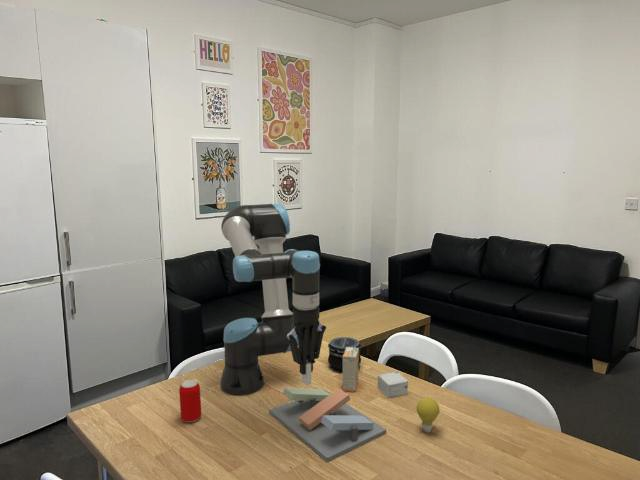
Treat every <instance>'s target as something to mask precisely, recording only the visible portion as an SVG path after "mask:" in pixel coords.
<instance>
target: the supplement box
mask: <svg viewBox="0 0 640 480" xmlns="http://www.w3.org/2000/svg"><path fill="white" fill-rule="evenodd" d="M358 360H359V348H353V347H346V349H345V352H344V354H343V373H342V387H341V388H342V389H341V390H342V391H344V392H346V393H347V392H349V393H356V390H357V386H358V383H359V368H358Z"/></svg>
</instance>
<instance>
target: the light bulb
mask: <svg viewBox="0 0 640 480" xmlns="http://www.w3.org/2000/svg"><path fill="white" fill-rule="evenodd" d="M416 412H417V415H418V417H419V419H420V420H421V428H422V430H423V431H424V432H426V433H430V432H432V429H433V428H434V426H433V425H434V421H436V419H437V417H439V415H440V406H439V403H438V402H437V401H436V400H435V399H433V398H432V397H422V398H421V399H419V400H418V401H417V404H416Z"/></svg>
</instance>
